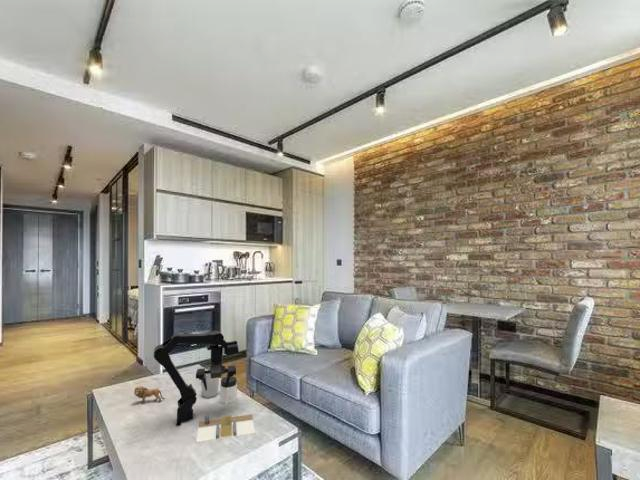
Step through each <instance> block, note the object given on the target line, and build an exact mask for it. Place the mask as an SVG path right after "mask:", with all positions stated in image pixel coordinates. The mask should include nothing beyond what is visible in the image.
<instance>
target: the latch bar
mask: <svg viewBox="0 0 640 480" xmlns="http://www.w3.org/2000/svg"><path fill="white" fill-rule="evenodd" d="M232 417H233V416H232V415H226V416H221V417H220V419H221V424H220V425H221V437H225V436H231V435H232Z"/></svg>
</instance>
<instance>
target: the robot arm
mask: <svg viewBox="0 0 640 480" xmlns="http://www.w3.org/2000/svg"><path fill="white" fill-rule="evenodd" d="M224 338H225V337H224V335H223V333H222V332H220V331H219V330H214V331H213V330H212V331H208V332H205V333H174V334H173V335H172V336H171V337H170V338H168V339H167V340H165V341H164V342H162V343H161V344H158V345H157V346H155V348H154V349H153V357H154V359H155V361H157V363H159V364H160V366H162V367H163V368H164V369H165V371H166V373H167V375H168V376H169V377H170V379H171V381H173V384H174V385H175V386H176V388H177V389H178V392H179V394H180V398H179V399H178V400H177V410H176V423H175V425H176V426H181V425H182V423H186V422H188V421H191V420H193V419H194V409H193V406H194V405H195V404H196V402H197V396H198V395H197V391H196V389H195V388H194V387H193V385H192V383H190V384H187V382H185V379H184V378H183V377H182V375H181V373H180V372H179V370H178V369H177V367H176V365H175V364H174V362H173V361H172V358H171V356H170V353H171V352H172V351H173V350H174V349H175V347H177V346H178V345H179V344H203V343H204V344H208V346H206V349H207V351H210V365H209V366H210V367H209V369H207V370H206V367H205V368H204V367H203V368H197V370H196V371H195V372H196V373H195V379H198V381H201V380H202V382H203V384H204V387H205V389H206V391H207V381H206V375H209V374H211V378H219V379H220V378H221V377H222V375H224V374H226V377H227V378H226V388H227V385H228V382H229V380H230V378H231V377H234V376H235V375H236V374H237V366H236V365H235V364H234V365H228V366H227V367H226V365H223V363H224V362H223V360H224V359H223V358H224V357H223V355H225V356H226V357H230V356H235V355H239V351H240V350H239V345H238V341H237V340H232V341H226V339H224Z"/></svg>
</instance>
